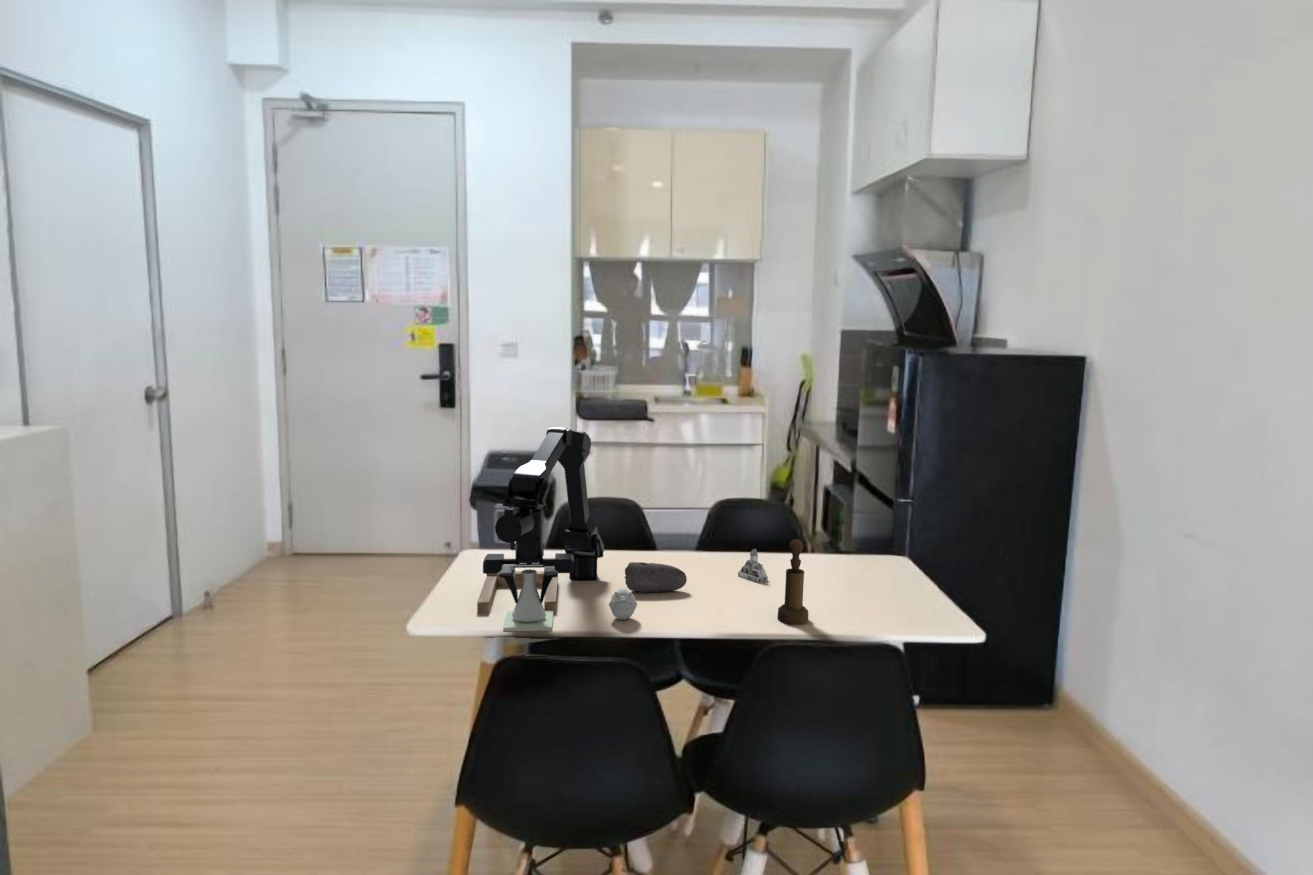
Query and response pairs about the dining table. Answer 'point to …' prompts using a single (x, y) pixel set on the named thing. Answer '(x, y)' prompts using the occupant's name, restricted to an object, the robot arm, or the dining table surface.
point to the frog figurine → (623, 604)
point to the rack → (495, 580)
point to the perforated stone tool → (653, 577)
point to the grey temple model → (753, 569)
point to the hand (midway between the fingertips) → (529, 602)
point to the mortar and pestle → (794, 590)
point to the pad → (528, 623)
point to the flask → (529, 600)
